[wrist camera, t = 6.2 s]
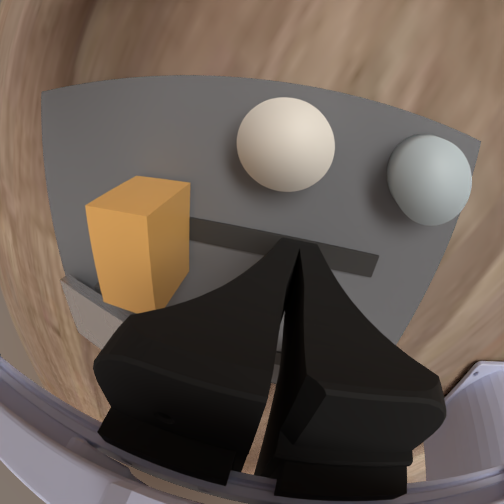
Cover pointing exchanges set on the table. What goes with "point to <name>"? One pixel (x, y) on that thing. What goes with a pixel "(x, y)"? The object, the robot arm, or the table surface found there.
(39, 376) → the table surface
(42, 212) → the table surface
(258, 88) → the panel
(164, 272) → the orange fader
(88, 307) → the rocker
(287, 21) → the table surface
